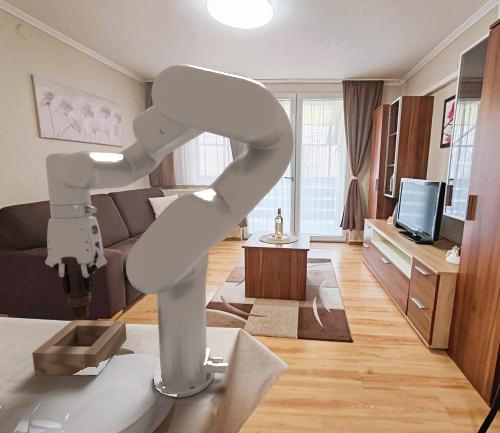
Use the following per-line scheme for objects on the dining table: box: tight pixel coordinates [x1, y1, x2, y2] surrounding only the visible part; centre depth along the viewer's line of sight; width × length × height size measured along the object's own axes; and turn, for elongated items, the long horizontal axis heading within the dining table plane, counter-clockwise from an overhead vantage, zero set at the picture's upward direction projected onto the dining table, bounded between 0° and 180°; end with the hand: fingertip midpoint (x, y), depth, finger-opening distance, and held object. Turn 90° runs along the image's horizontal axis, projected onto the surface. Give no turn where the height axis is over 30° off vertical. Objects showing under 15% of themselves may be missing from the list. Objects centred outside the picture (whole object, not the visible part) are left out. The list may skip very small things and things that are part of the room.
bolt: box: [61, 257, 92, 320], centre depth 65 cm, size 6×5×15 cm
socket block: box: [31, 319, 127, 376], centre depth 67 cm, size 14×14×5 cm
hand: (78, 291), depth 65 cm, fingers closed on bolt, 3 cm apart
